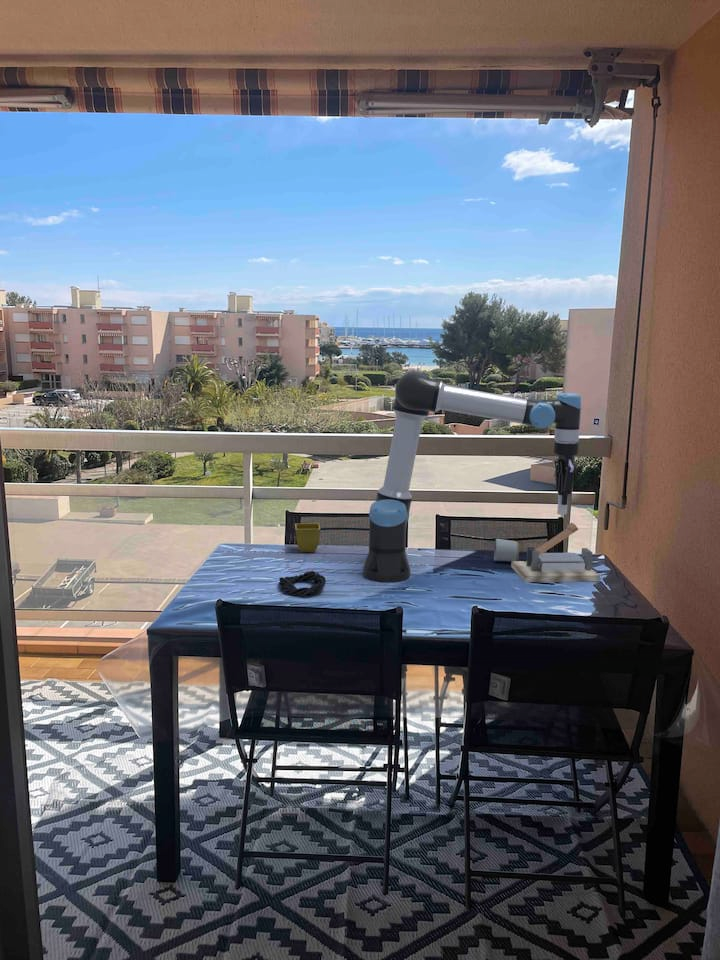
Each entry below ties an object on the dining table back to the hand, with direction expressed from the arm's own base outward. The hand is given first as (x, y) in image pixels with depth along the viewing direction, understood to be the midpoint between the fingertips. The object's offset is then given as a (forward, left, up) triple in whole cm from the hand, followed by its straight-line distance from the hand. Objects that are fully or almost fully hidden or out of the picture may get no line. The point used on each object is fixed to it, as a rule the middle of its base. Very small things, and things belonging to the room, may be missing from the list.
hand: (562, 513), depth 244 cm
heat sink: (-1, -3, -18) cm, 18 cm away
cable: (-84, -16, -20) cm, 88 cm away
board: (-2, -3, -20) cm, 20 cm away
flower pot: (-82, +26, -20) cm, 89 cm away
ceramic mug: (-14, +14, -20) cm, 28 cm away
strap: (-3, -3, -9) cm, 10 cm away
